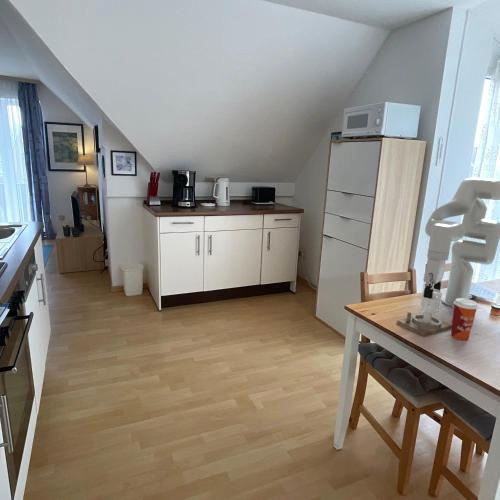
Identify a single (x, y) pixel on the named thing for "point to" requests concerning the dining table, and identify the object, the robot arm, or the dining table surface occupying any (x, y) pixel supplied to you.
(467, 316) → the coffee cup
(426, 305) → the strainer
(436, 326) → the locating board
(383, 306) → the dining table surface
